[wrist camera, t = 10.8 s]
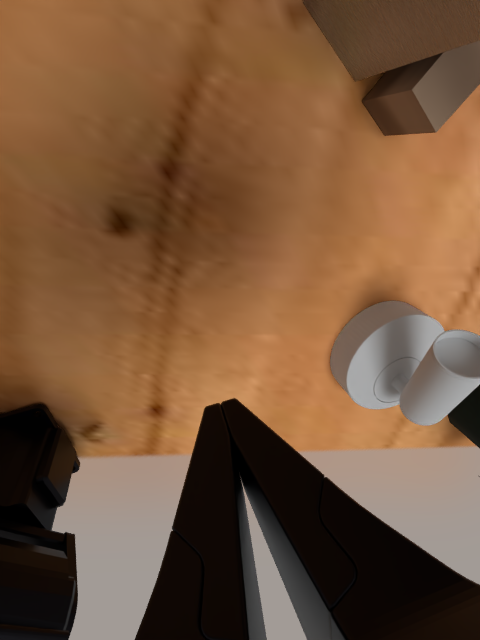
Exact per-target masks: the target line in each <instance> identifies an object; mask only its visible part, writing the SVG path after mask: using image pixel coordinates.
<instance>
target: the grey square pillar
mask: <svg viewBox="0 0 480 640" xmlns="http://www.w3.org/2000/svg"><path fill="white" fill-rule="evenodd" d="M303 3H304V5H305V6H306V8H307V10H308V11H309V13H310V14H311V16H312V17H313V19H314V20H315V22H316V23H317V25H318V26H319V28H320V29H321V31H322V32H323V34H324V35H325V37H326V38H327V40H328V41H329V43H330V44H331V46H332V47H333V49H334V50H335V52H336V53H337V55H338V56H339V58H340V59H341V61H342V62H343V64H344V66H345V67H346V69H347V70H348V72H349V73H350V75H351V76H352V78H353V79H354V81H358V80H361V79H364V78H367V77H370V76H373V75H376V74H379V73H382V72H385V71H389V70H392V69H395V68H398V67H401V66H404V65H407V64H410V63H413V62H416V61H419V60H422V59H425V58H428V57H431V56H434V55H437V54H440V53H443V52H446V51H449V50H452V49H455V48H458V47H461V46H464V45H467V44H470V43H473V42H477V41H480V0H304V1H303Z"/></svg>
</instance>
